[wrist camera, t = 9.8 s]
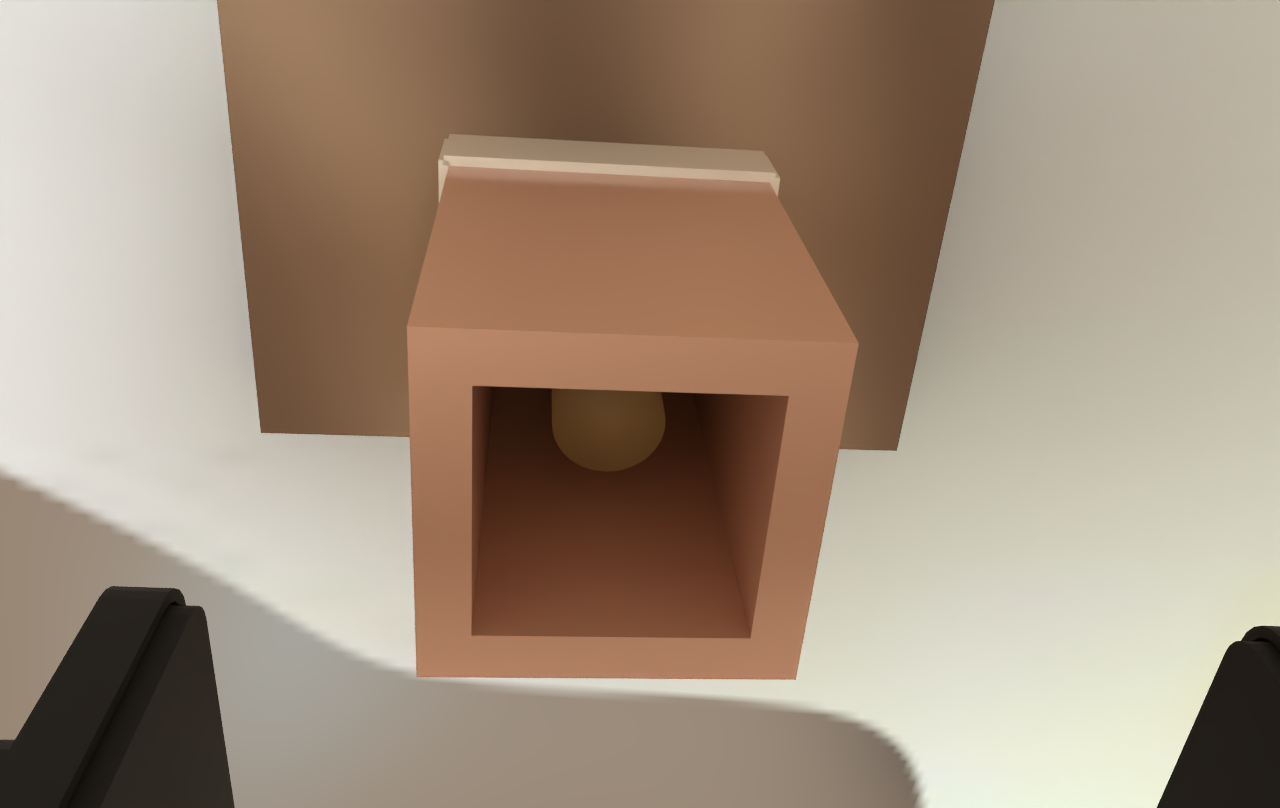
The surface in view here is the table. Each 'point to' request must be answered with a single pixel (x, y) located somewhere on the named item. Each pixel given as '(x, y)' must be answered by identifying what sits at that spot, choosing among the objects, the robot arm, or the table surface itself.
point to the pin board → (580, 111)
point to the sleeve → (627, 361)
